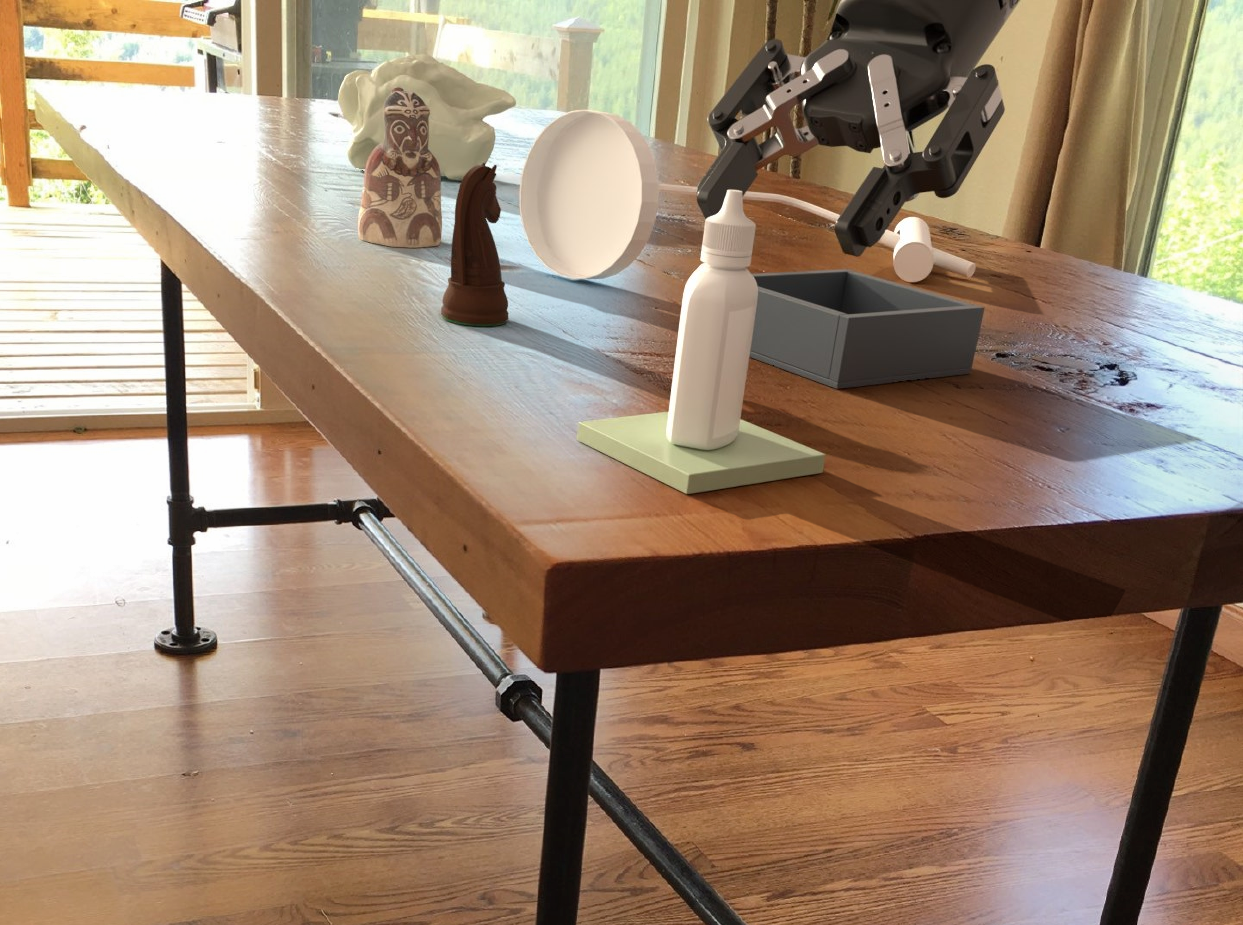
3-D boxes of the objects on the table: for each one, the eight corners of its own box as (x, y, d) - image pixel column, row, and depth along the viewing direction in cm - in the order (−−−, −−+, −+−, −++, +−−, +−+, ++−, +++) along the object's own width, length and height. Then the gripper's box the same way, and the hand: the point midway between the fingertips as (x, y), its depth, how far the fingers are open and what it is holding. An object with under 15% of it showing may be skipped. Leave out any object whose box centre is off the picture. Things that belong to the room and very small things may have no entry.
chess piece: (520, 319, 98) (531, 167, 93) (481, 331, 94) (490, 172, 89) (464, 308, 100) (472, 158, 95) (423, 318, 96) (429, 162, 91)
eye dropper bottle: (770, 441, 73) (808, 197, 67) (693, 456, 69) (727, 199, 64) (709, 418, 76) (741, 182, 70) (633, 431, 72) (660, 184, 67)
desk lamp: (770, 177, 98) (1036, 205, 131) (541, 89, 110) (838, 135, 142) (717, 349, 104) (984, 335, 137) (504, 249, 115) (798, 257, 148)
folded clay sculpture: (458, 233, 167) (522, 111, 165) (453, 220, 155) (522, 87, 152) (322, 154, 165) (384, 30, 163) (305, 134, 152) (372, -1, 150)
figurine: (361, 245, 118) (364, 90, 113) (354, 230, 124) (357, 82, 119) (446, 249, 120) (453, 96, 114) (435, 234, 126) (441, 88, 121)
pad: (823, 473, 72) (826, 454, 71) (686, 494, 67) (689, 474, 67) (708, 423, 78) (710, 406, 78) (576, 440, 73) (578, 421, 73)
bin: (970, 373, 95) (985, 307, 93) (836, 389, 88) (849, 317, 86) (836, 330, 104) (847, 268, 102) (705, 341, 97) (714, 275, 95)
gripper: (807, -85, 74) (636, 152, 71) (1058, -73, 65) (875, 197, 63) (847, 31, 80) (691, 253, 77) (1083, 56, 71) (916, 307, 69)
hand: (774, 228), depth 70 cm, fingers open, 8 cm apart
